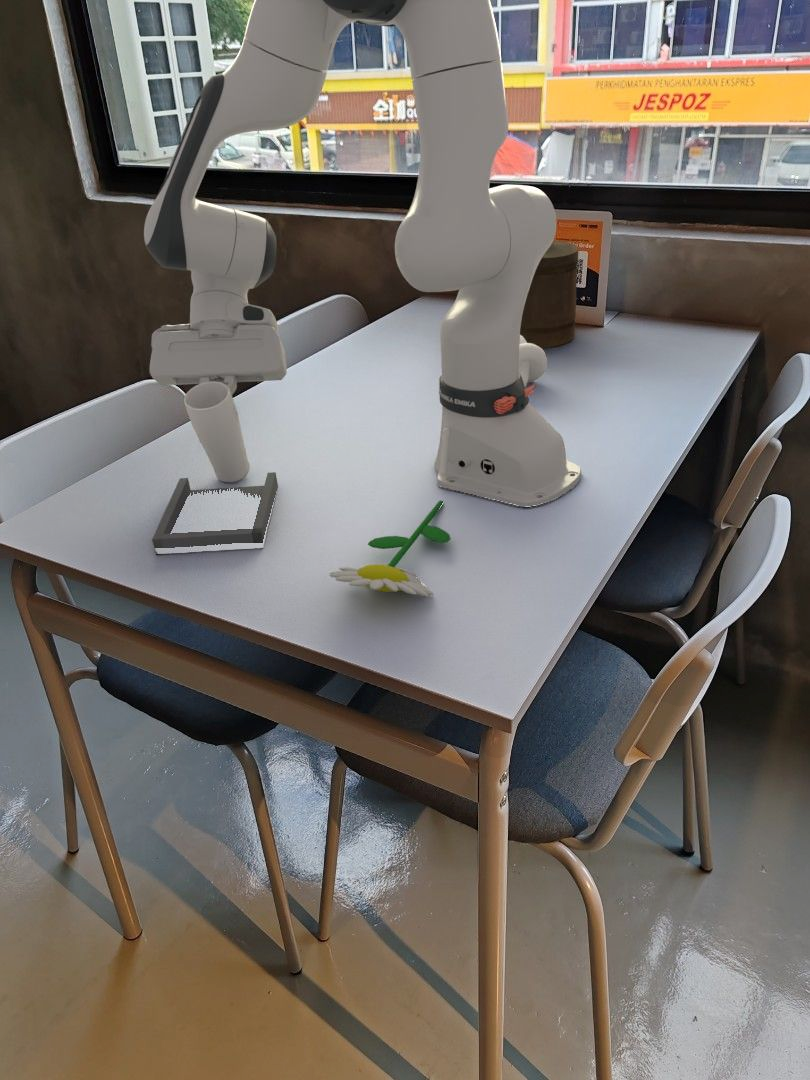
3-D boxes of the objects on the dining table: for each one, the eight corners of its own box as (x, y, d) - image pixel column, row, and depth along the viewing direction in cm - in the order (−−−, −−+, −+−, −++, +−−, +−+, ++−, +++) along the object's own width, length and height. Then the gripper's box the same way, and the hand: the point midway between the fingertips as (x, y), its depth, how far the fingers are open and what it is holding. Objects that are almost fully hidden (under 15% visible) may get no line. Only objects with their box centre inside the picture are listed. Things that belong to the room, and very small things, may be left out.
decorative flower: (398, 514, 120) (311, 612, 94) (399, 483, 118) (310, 575, 92) (483, 529, 116) (416, 635, 91) (486, 497, 114) (418, 597, 88)
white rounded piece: (544, 374, 156) (546, 328, 152) (547, 399, 146) (549, 350, 141) (485, 375, 158) (484, 329, 153) (483, 400, 148) (483, 352, 143)
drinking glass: (253, 485, 125) (228, 406, 114) (210, 490, 126) (180, 412, 115) (256, 455, 130) (232, 377, 119) (214, 460, 130) (186, 383, 119)
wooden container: (585, 330, 176) (591, 222, 164) (557, 352, 166) (561, 239, 154) (521, 322, 183) (523, 218, 172) (491, 343, 173) (490, 234, 161)
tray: (183, 492, 124) (179, 478, 123) (278, 486, 124) (275, 472, 123) (156, 555, 110) (152, 539, 109) (263, 548, 110) (260, 532, 108)
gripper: (145, 316, 123) (141, 402, 120) (281, 309, 123) (281, 396, 119) (158, 335, 129) (155, 418, 126) (288, 329, 129) (288, 413, 126)
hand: (217, 408), depth 123 cm, fingers closed, pressing on drinking glass
